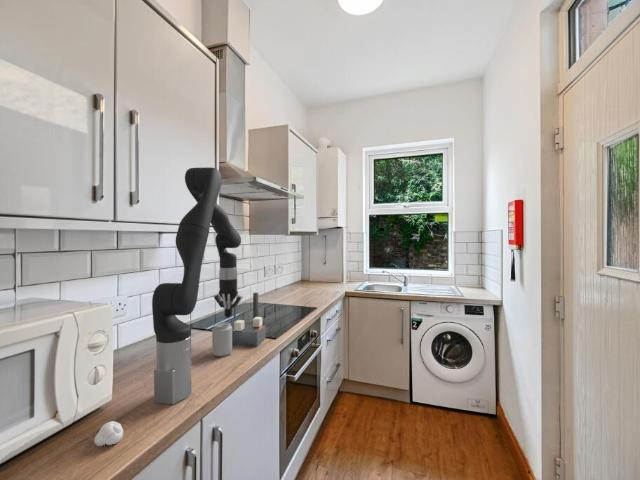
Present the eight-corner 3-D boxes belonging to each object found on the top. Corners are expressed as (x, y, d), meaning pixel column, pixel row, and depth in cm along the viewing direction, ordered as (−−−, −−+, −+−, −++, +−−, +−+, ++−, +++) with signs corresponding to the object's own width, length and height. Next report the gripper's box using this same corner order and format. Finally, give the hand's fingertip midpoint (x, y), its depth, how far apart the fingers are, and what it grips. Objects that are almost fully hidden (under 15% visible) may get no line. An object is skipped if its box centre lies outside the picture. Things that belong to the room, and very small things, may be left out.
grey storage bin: (257, 346, 123) (257, 332, 122) (230, 344, 125) (230, 330, 124) (265, 338, 132) (265, 325, 132) (241, 336, 134) (241, 323, 134)
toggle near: (240, 330, 124) (240, 322, 124) (234, 330, 124) (234, 322, 124) (244, 328, 127) (244, 320, 127) (237, 327, 128) (237, 319, 128)
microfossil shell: (124, 422, 66) (118, 413, 70) (95, 434, 63) (91, 425, 67) (125, 441, 66) (120, 432, 70) (96, 455, 63) (92, 444, 66)
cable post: (258, 337, 134) (258, 294, 133) (249, 336, 135) (249, 293, 134) (262, 334, 138) (261, 292, 138) (253, 333, 139) (253, 291, 138)
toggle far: (259, 327, 129) (259, 319, 129) (253, 326, 129) (253, 319, 129) (262, 324, 132) (262, 317, 132) (256, 324, 133) (256, 316, 133)
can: (226, 358, 111) (226, 327, 111) (208, 356, 113) (208, 326, 112) (235, 350, 119) (235, 321, 118) (218, 349, 120) (218, 320, 120)
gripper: (209, 278, 124) (209, 318, 124) (238, 279, 121) (238, 320, 122) (218, 275, 131) (218, 314, 132) (246, 276, 129) (246, 315, 129)
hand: (228, 317), depth 127 cm, fingers closed
